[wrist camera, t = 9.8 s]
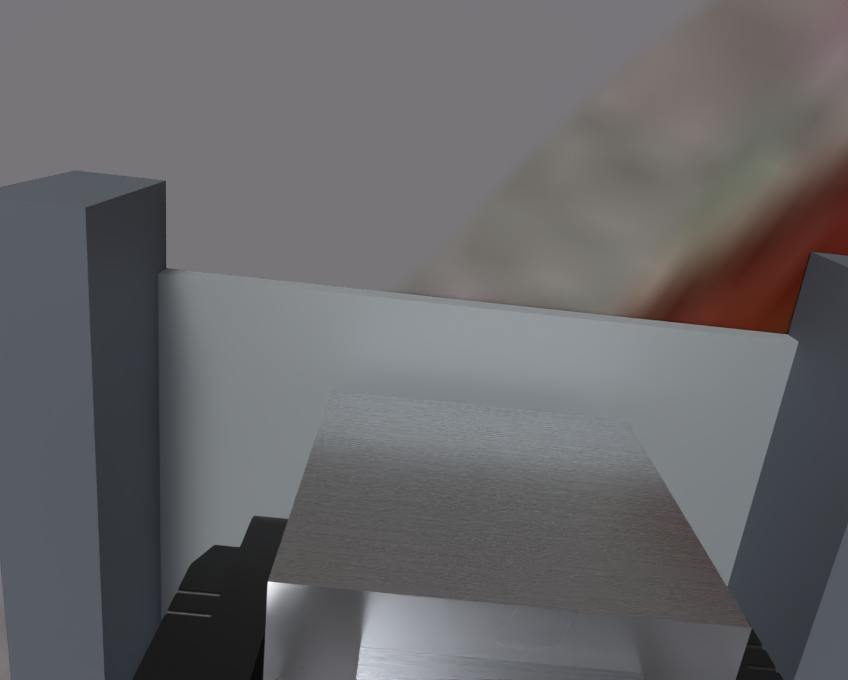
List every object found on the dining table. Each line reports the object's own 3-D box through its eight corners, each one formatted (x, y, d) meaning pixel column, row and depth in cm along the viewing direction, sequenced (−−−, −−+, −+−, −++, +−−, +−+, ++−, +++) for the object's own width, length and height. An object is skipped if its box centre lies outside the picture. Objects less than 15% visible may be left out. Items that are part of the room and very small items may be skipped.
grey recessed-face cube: (627, 420, 12) (797, 706, 7) (575, 658, 14) (676, 1050, 8) (331, 389, 12) (242, 654, 6) (313, 632, 14) (230, 1015, 8)
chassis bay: (897, 261, 12) (1034, 311, 10) (738, 748, 16) (805, 889, 13) (74, 170, 12) (-34, 195, 9) (98, 691, 16) (24, 824, 13)
